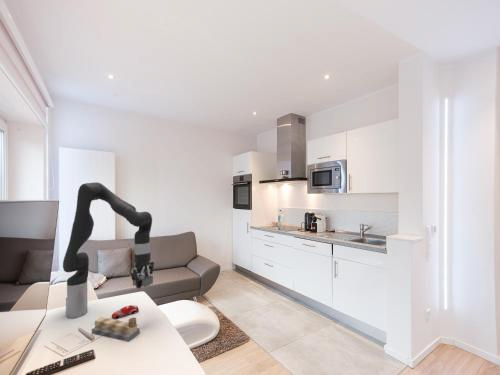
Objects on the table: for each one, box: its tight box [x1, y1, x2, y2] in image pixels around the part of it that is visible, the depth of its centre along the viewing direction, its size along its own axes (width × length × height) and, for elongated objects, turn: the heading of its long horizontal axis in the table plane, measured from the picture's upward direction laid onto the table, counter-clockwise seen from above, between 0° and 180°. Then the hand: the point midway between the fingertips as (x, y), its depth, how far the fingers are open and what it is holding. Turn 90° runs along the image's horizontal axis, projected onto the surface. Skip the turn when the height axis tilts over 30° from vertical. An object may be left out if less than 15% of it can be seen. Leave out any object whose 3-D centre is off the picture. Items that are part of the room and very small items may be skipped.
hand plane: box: [91, 317, 141, 342], centre depth 116 cm, size 23×7×8 cm, turn 72°
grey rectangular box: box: [132, 274, 154, 288], centre depth 122 cm, size 8×5×4 cm, turn 71°
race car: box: [111, 304, 140, 320], centre depth 133 cm, size 13×5×4 cm, turn 127°
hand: (142, 285), depth 122 cm, fingers closed on grey rectangular box, 5 cm apart
